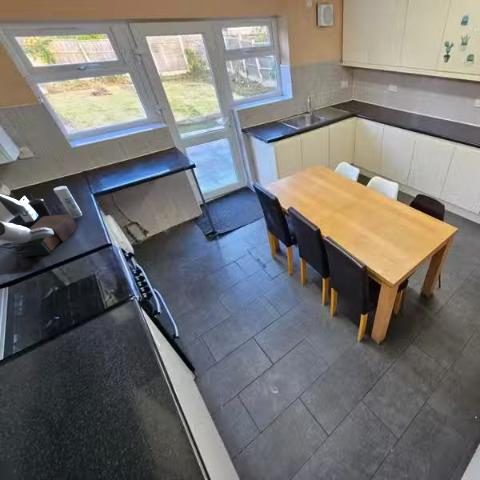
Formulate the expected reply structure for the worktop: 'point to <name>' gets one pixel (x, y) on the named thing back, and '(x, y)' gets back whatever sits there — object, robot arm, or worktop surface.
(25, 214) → the ink box
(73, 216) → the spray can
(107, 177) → the worktop surface
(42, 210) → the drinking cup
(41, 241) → the green can
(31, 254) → the drawer
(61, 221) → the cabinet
